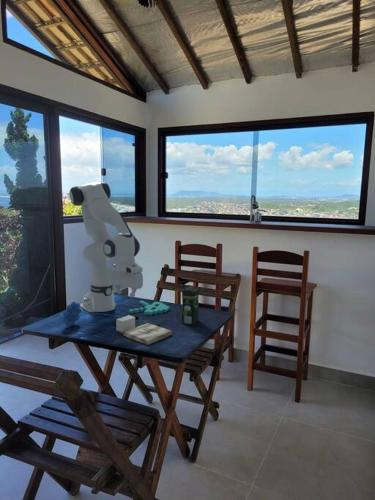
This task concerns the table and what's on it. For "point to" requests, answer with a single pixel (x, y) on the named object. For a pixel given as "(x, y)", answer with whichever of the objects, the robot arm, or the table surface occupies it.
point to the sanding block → (125, 323)
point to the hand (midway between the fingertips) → (125, 295)
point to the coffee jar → (190, 305)
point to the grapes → (71, 314)
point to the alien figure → (151, 308)
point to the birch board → (147, 333)
